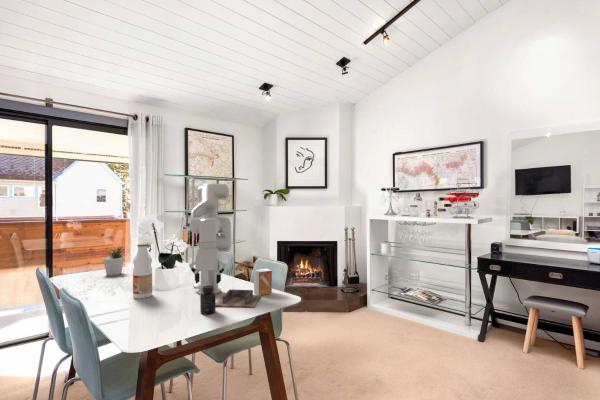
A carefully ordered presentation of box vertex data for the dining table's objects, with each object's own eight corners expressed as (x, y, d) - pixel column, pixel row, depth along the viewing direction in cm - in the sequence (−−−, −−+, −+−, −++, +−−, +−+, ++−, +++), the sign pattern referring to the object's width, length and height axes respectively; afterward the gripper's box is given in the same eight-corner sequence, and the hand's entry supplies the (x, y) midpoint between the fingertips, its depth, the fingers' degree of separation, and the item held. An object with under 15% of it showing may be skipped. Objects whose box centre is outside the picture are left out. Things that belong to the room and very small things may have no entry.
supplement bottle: (201, 310, 162) (201, 284, 161) (216, 309, 162) (216, 284, 162) (198, 315, 155) (198, 288, 154) (214, 314, 155) (214, 288, 155)
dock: (213, 306, 166) (213, 297, 166) (224, 295, 184) (224, 287, 184) (254, 307, 165) (254, 298, 165) (260, 296, 183) (260, 288, 183)
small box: (258, 296, 184) (258, 272, 184) (253, 293, 189) (253, 269, 189) (272, 293, 189) (272, 270, 188) (266, 291, 194) (266, 268, 194)
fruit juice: (147, 299, 178) (147, 245, 178) (129, 298, 178) (129, 245, 178) (155, 293, 188) (155, 242, 187) (138, 293, 188) (138, 242, 187)
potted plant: (119, 276, 227) (119, 246, 226) (99, 276, 227) (99, 246, 226) (129, 272, 239) (129, 243, 239) (109, 272, 239) (109, 243, 239)
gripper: (186, 246, 155) (186, 284, 154) (224, 246, 153) (224, 284, 153) (192, 244, 162) (192, 280, 162) (228, 244, 161) (228, 281, 161)
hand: (207, 282), depth 158 cm, fingers open, 9 cm apart
